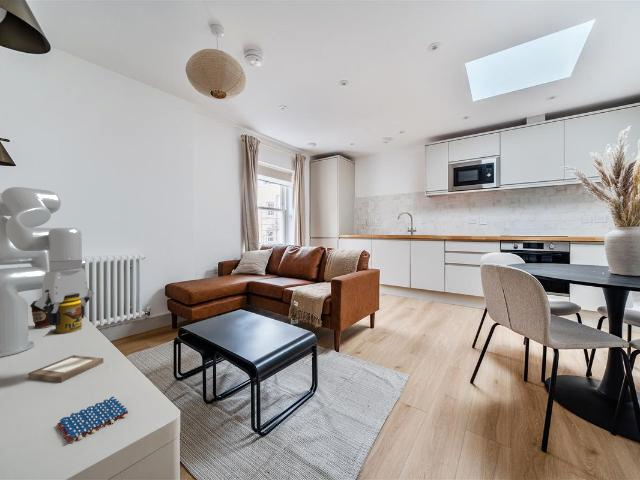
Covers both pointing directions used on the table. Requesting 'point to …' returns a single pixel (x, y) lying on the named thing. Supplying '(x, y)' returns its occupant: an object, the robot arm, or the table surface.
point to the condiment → (68, 316)
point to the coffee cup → (39, 316)
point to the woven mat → (91, 419)
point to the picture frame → (65, 368)
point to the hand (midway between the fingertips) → (67, 321)
